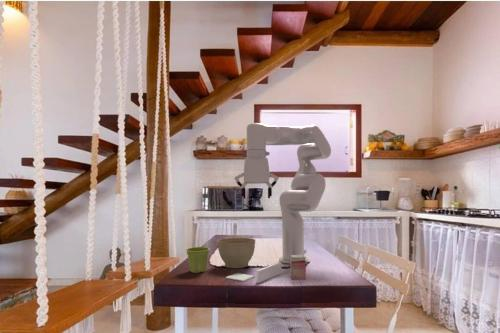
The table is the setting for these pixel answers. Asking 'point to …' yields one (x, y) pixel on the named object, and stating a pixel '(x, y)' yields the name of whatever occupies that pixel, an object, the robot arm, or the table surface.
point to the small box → (298, 266)
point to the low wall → (268, 272)
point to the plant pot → (197, 258)
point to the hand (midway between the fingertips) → (256, 198)
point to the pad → (240, 277)
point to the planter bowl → (236, 251)
